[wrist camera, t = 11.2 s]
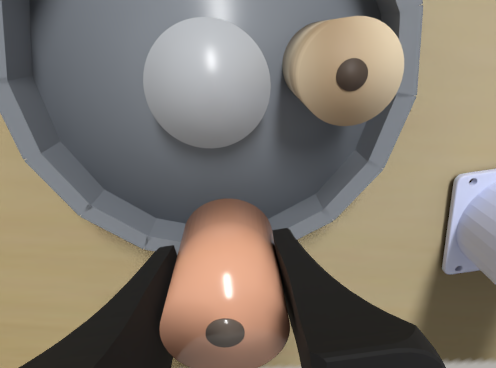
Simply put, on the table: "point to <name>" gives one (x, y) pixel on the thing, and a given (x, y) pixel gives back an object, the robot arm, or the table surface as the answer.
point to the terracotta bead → (225, 290)
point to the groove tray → (188, 110)
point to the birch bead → (344, 68)
